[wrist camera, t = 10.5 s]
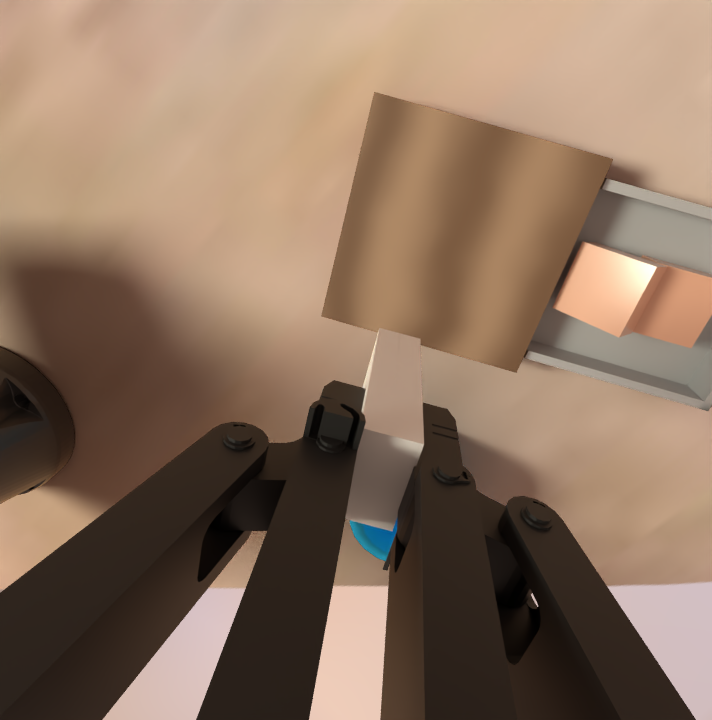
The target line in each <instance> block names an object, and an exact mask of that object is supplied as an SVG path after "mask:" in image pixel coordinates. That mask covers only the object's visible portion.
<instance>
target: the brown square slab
mask: <svg viewBox="0 0 712 720" xmlns="http://www.w3.org/2000/svg"><path fill="white" fill-rule="evenodd" d="M612 161H613V159H610V158H607V157H603V156H600V155H596V154H593V153H589V152H586V151H582V150H579V149H575V148H571V147H568V146H564V145H561V144H557V143H554V142H550V141H547V140H543V139H539V138H536V137H532V136H529V135H525V134H522V133H518V132H515V131H511V130H507V129H504V128H500V127H497V126H493V125H490V124H486V123H483V122H479V121H475V120H472V119H468V118H465V117H461V116H458V115H454V114H451V113H447V112H444V111H440V110H436V109H433V108H429V107H426V106H422V105H419V104H415V103H412V102H408V101H404V100H401V99H397V98H394V97H390V96H387V95H383V94H380V93H376V92H374V96H373V100H372V104H371V109H370V113H369V117H368V121H367V126H366V130H365V134H364V138H363V142H362V147H361V151H360V155H359V159H358V164H357V168H356V172H355V176H354V180H353V185H352V189H351V193H350V197H349V202H348V206H347V210H346V214H345V219H344V223H343V227H342V231H341V235H340V240H339V244H338V248H337V252H336V257H335V261H334V265H333V269H332V274H331V278H330V282H329V286H328V290H327V295H326V299H325V303H324V307H323V312H322V317H326V318H329V319H333V320H336V321H340V322H343V323H346V324H350V325H353V326H357V327H360V328H364V329H367V330H371V331H374V332H378V331H379V328H382V329H386V330H389V331H393V332H397V333H401V334H404V335H408V336H412V337H416V338H419V339H420V340H421V345H422V346H426V347H429V348H433V349H436V350H440V351H443V352H447V353H450V354H454V355H457V356H461V357H464V358H467V359H471V360H474V361H478V362H481V363H485V364H488V365H492V366H495V367H499V368H502V369H505V370H509V371H512V372H517V370H518V368H519V366H520V363H521V361H522V359H523V357H524V355H525V352H526V350H527V348H528V346H529V344H530V341H531V339H532V337H533V335H534V333H535V330H536V328H537V326H538V324H539V322H540V319H541V317H542V315H543V313H544V311H545V308H546V306H547V304H548V302H549V299H550V297H551V295H552V293H553V291H554V288H555V286H556V284H557V282H558V280H559V277H560V275H561V273H562V271H563V269H564V266H565V264H566V262H567V260H568V258H569V255H570V253H571V251H572V249H573V247H574V244H575V242H576V240H577V238H578V236H579V233H580V231H581V229H582V227H583V225H584V222H585V220H586V218H587V216H588V214H589V211H590V209H591V207H592V205H593V203H594V200H595V198H596V196H597V194H598V192H599V189H600V187H601V185H602V183H603V181H604V178H605V176H606V174H607V172H608V169H609V167H610V165H611V163H612Z"/></svg>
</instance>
